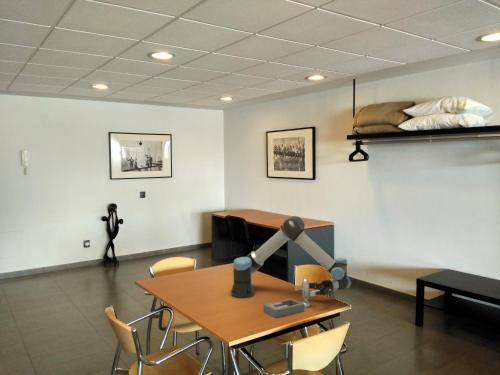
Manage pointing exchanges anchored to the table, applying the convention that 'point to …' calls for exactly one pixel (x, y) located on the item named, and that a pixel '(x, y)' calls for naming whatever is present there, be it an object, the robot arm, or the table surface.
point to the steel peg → (306, 292)
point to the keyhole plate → (283, 307)
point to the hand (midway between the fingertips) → (302, 291)
